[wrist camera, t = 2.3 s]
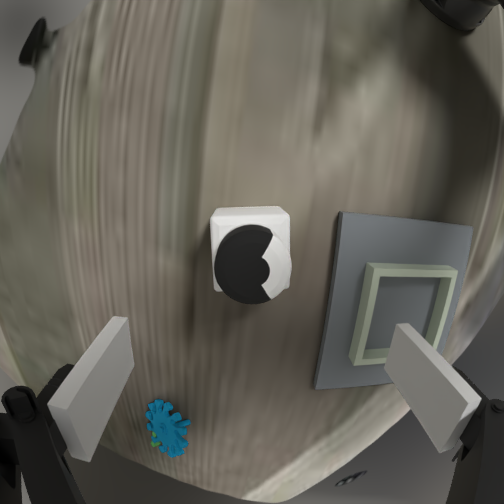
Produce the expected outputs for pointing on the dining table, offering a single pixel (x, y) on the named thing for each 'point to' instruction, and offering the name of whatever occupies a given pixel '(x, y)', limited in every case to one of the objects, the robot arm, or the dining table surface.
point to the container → (251, 252)
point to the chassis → (388, 292)
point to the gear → (167, 428)
